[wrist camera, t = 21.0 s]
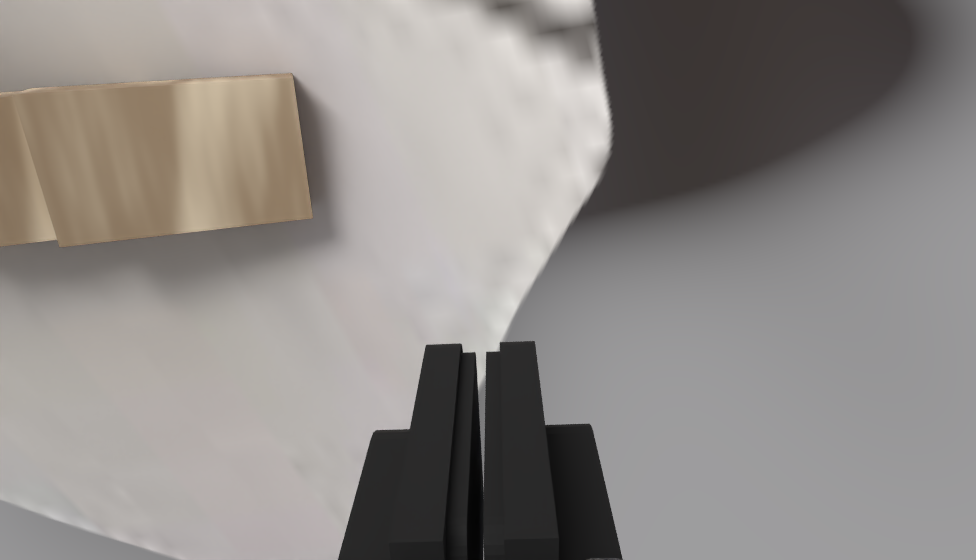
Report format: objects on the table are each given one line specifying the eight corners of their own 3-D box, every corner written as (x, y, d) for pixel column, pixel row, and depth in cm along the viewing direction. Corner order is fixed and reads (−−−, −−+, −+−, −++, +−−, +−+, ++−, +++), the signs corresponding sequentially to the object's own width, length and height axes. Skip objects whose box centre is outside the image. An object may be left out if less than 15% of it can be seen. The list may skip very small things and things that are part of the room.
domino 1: (178, 213, 31) (-67, 241, 29) (146, 82, 29) (-125, 101, 26) (172, 225, 29) (-90, 257, 27) (138, 87, 27) (-153, 108, 24)
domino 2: (310, 206, 31) (72, 232, 28) (291, 73, 28) (29, 88, 26) (312, 218, 29) (59, 247, 26) (293, 77, 27) (12, 94, 24)
